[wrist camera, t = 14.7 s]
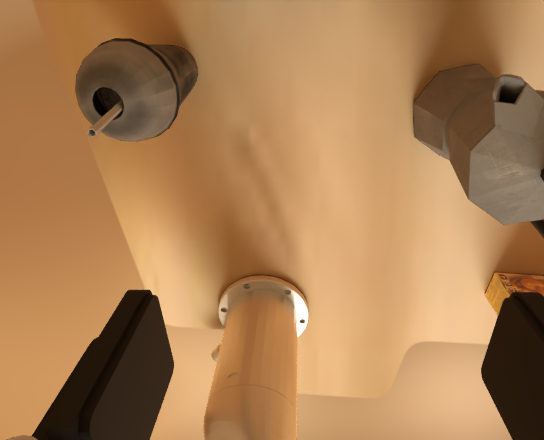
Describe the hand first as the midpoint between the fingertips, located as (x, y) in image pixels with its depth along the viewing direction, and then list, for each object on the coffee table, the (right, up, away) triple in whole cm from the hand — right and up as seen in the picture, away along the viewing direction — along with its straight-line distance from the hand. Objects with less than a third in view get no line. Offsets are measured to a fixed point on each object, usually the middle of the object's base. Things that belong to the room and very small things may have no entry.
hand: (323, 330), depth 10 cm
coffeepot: (+18, +13, +28) cm, 36 cm away
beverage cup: (-11, +18, +28) cm, 35 cm away
